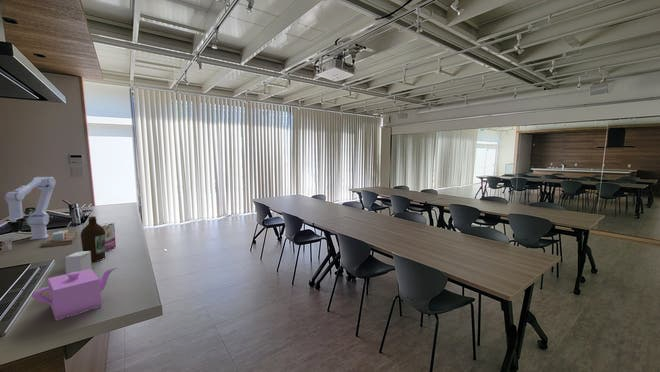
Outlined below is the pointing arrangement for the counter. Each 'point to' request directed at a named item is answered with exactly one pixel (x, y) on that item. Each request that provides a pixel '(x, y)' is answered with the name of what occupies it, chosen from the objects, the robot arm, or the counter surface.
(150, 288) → the counter surface
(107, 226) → the candy bar box
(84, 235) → the olive oil
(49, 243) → the puzzle board
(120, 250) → the counter surface
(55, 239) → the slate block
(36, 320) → the counter surface
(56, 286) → the teapot
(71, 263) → the skincare box
